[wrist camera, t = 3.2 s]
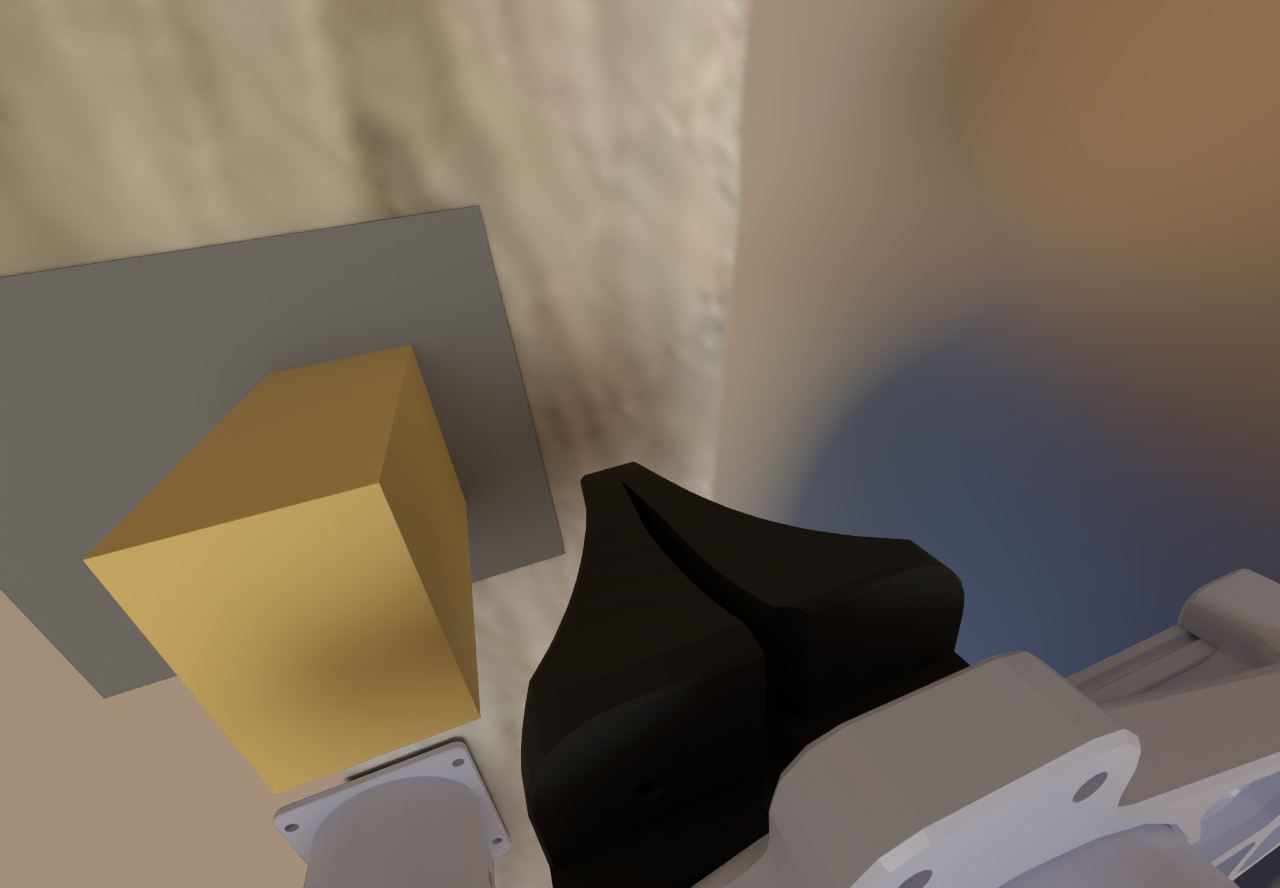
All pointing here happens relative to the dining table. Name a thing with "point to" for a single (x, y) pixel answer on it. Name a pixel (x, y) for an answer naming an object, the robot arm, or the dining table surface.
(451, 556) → the ochre block
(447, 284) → the rubber mat
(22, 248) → the dining table surface
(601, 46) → the dining table surface
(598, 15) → the dining table surface
